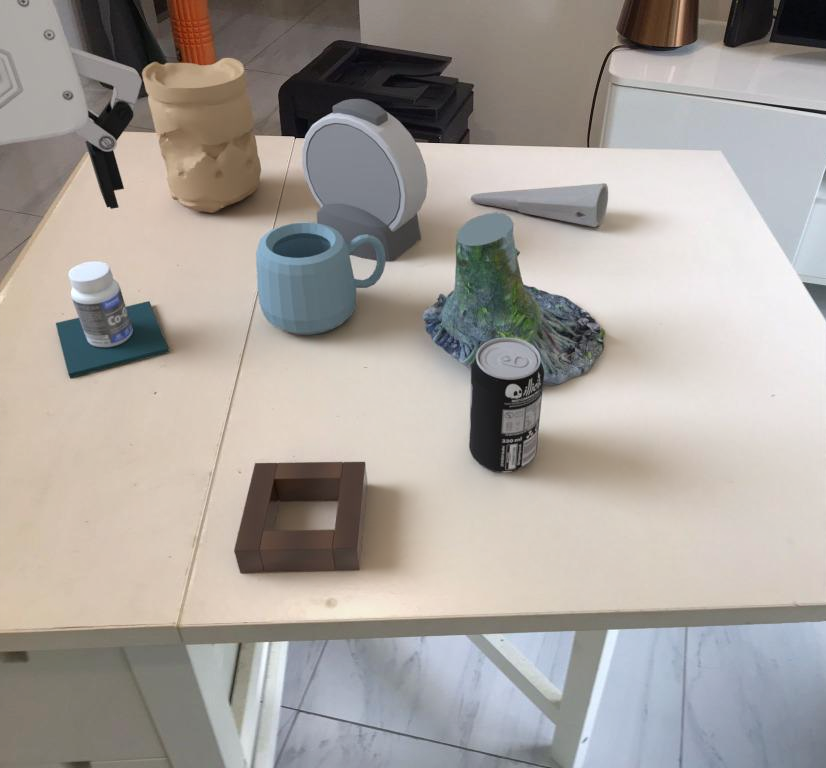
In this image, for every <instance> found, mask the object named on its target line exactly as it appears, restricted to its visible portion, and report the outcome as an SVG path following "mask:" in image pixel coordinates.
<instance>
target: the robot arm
mask: <svg viewBox="0 0 826 768" xmlns="http://www.w3.org/2000/svg"><path fill="white" fill-rule="evenodd" d="M80 76H81V77H85V78H87V79H91V80H93V81H97V82H100V83H103V84H105V85H106V84H107V85H109V86H112V87H113V90H112V95H111V98H110V99H109V101H108V102H107V104H106V105H105V107H103V110H102V111H101V113H100V114H99V115H98V114H97V113H95V112H94V111H92V110H91V109H90V108H88V103H87V99H86V96H85V91H84V87H83V85H82V81H81V78H80ZM142 82H143V79H142V78H141V76H140V74H139V72H138V71H137V70H136V68H134V67H131V66H128V65H126V64H123V63H119V62H117V61H113V60H111V59H108V58H104V57H102V56H99V55H96V54H93V53H90V52H88V51H85V50H81V49H79V48H75V47H71V46H70V45H69V42H68V39H67V37H66V34H65V32H64V28H63V25H62V23H61V20H60V16H59V15H58V12H57V9H56V7H55V4H54V2H53V0H0V146H4V145H12V144H16V143H24V142H25V143H26V142H30V141H31V142H32V141H37V140H43V139H51V138H56V137H60V136H61V137H62V136H66V135H69V134H72V133H75V134H77V135H78V136H80V137H81V138H82V139H84V140H85V145H86V149H87V151H88V155H89V158H90V161H91V165H92V168H93V171H94V174H95V178H96V181H97V184H98V185H97V186H98V187H99V188H98V189H99V191H100V193H101V196H102V199H103V201H104V204H105V206H106V208H110V209H111V210H114V209H118V208H119V207H120V206H119V203H118V199H117V196H116V193H115V191H120V190H124V189H125V187H124V183H123V180H122V176H121V172H120V170H119V169H120V168H119V165H118V162H117V158H116V155H115V151H114V150H115V149H116V148H117V144H118V143H117V141H118V139H119V138H120V137H121V135H122V134H123V133H124V131H125V130H126V129H127V127H128V126H129V124H130V123H131V121H132V120H133V119H134V110H135V107H136V105H137V102H138V98H139V94H140V90H141V87H142V84H143V83H142Z"/></svg>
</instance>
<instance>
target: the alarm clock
mask: <svg viewBox="0 0 826 768" xmlns="http://www.w3.org/2000/svg"><path fill="white" fill-rule="evenodd" d="M331 108H332V112H331V113H328V114H327V115H325V116H323V117H322V118H320V119H318V120H317V121H315V122H314V123H313V124H312V125H311V126H310V128H309V129H308V131H307V132H306V134H305V136H304V140H303V144H302V149H301V159H302V160H301V161H302V162H301V164H302V168H303V174H304V176H305V181H306V183H307V185H308V188H309V190H310V193H311V194H312V197H313V198H314V200H315V201H316V202H317V204H318V205H319V207H320V208H319V209H318V210H317V212H316V223H317V224H323V225H326V226H329V227H332V228H333V229H335V230H337V231H338V232H339V233H340V234H341V235H342V237H343V239H344V240H345V242H346V245H348V244H349V243H350V242H351V241H352V240H353V239H354V238H356V237H358V236H359V235H365V234H367V235H371V236H374V237H376V238H378V239H379V240H380V241H381V243H382V245H383V247H384V250H385V262H394V261H396V260H397V259H398V258H399V257H400V256H402V255H403V254H404V253H406V252H407V251H408V250H409V249H411V248H412V247H413V246H414V245H416V244H417V243H418V242H419V241H421V240H422V234H421V230H420V229H421V228H420V223H419V217H418V213H419V211H420V210H421V209H422V207H423V206H424V202H425V200H426V197H427V193H428V184H429V182H428V181H429V180H428V175H427V173H428V172H427V168H426V167H427V166H426V163H425V160H424V157H423V155H422V152H421V149H420V147H419V145H418V144H417V143H416V141H415V139H414V138H413V137H414V136H412V134H411V132H409V130H408V129H407V128H406V127H405V126H404V125H403V124H402V123H401V122H400V121H399V119H397V118H396V117H394V116H393V115H392V114H390V113H389V112H387V111H386V110H385V109H384V108H383V107H382V106H380V105H379V104H377V103H375V102H373V101H370V100H368V99H363V98H349V99H345V100H342V101H340V102H338V103H336V104H334V105H333V106H332V107H331ZM350 256H355V257H358V258H362V259H368V260H374V261H377V255H376V251H375V248H374V247H373V245H371V244H369V243H364V244H362V245H360V246H359V247H358V248H357V249H356V250H355V251H354V252H353V253H352V254H351V255H350Z"/></svg>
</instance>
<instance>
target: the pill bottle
mask: <svg viewBox="0 0 826 768" xmlns="http://www.w3.org/2000/svg"><path fill="white" fill-rule="evenodd" d="M67 275H68V279H69V282H70V285H71V291H70V297H71V300H72V303H73V305H74V308H75V311H76V314H77V316H78V317H77V318H79V319H80V322H81V325H82V328H83V331H84V334H85V336H86V339H87V341H88V342H89V343H90V344H91V345H93V346H96V347H113V346H117V345H119V344H121V343H123V342H125V341H126V340H127V339H129V337H130V336H131V335H132V332H133V329H132V325H131V322H130V319H129V316H128V312H127V309H126V306H127V305H126V302H125V299H124V296H123V292H122V289H121V286H120V283H119V282H118V281H117V280H115V279H114V275H113V271H112V270H111V267H110V265H109V264H108V263H105V262H103V261H99V260H97V261H95V260H94V261H86V262H82V263H79V264H77V265H75V266H73V267H72V268H71V269H70V270H69V271H68V273H67Z"/></svg>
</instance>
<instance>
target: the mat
mask: <svg viewBox="0 0 826 768" xmlns="http://www.w3.org/2000/svg"><path fill="white" fill-rule="evenodd" d="M125 306H126V309H127V312H128V316H129V319H130V322H131V325H132V329H133V332H132V335H131V336H130V337H129V339H127V340H126V341H125V342H123V343H121V344H119V345H117V346H113V347H96V346H93V345H91V344H90V343H89V342H88V341H87V339H86V336H85V334H84V331H83V328H82V325H81V322H80V319H79V317H75V318H71V319H67V320H62V321H58V322H55V326H56V330H57V334H58V338H59V342H60V346H61V347H60V348H61V350H62V355H63V358H64V362H65V366H66V370H67V374H68V377H69V379H72V378H76V377H80V376H83V375H87V374H91V373H96V372H100V371H103V370H106V369H110V368H111V369H112V368H114V367H118V366H122V365H125V364H131V363H134V362H137V361H140V360H145V359H149V358H152V357H156V356H160V355H164V354H167V353H168V354H169V353H170V349H169V346H168V343H167V341H166V339H165V335H164V334H163V333H164V332H162V331H163V330H162V328H161V326H160V324H159V321H158V319H157V316H156V314H155V312H154V311H155V310H154V308H153V306H152V304H151V302H150V301H149V300H148V301H144V302H139V303H135V304H131V305H125Z"/></svg>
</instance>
